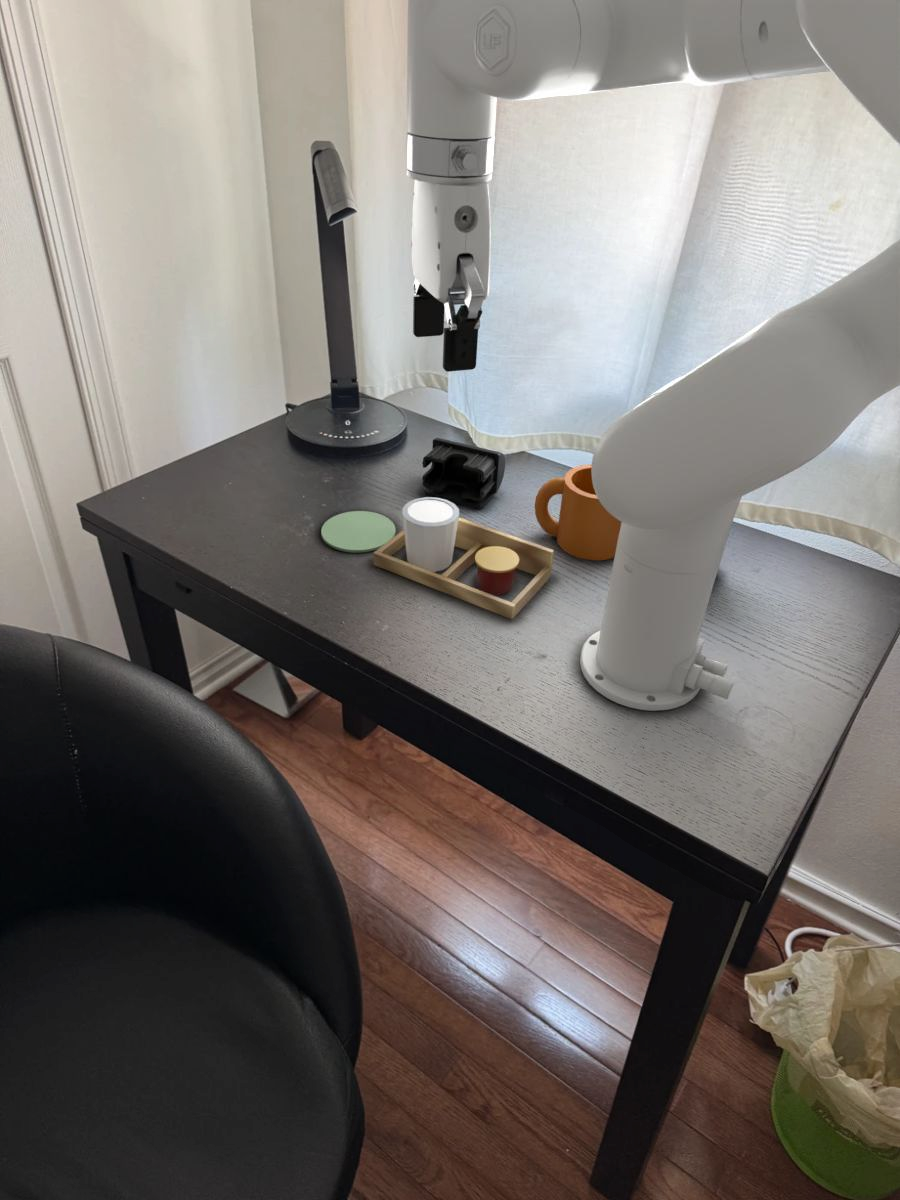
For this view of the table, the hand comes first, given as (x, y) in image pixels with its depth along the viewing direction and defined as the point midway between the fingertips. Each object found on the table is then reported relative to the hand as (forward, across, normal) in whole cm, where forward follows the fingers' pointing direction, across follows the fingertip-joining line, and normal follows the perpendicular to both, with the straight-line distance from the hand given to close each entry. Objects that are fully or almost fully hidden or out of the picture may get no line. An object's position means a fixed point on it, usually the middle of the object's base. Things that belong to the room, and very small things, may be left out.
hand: (443, 351), depth 79 cm
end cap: (+28, +18, -10) cm, 35 cm away
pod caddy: (+27, 0, -3) cm, 28 cm away
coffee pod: (+27, -4, -6) cm, 28 cm away
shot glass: (+28, +3, 0) cm, 28 cm away
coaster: (+28, +12, +7) cm, 31 cm away
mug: (+28, +2, -20) cm, 34 cm away
